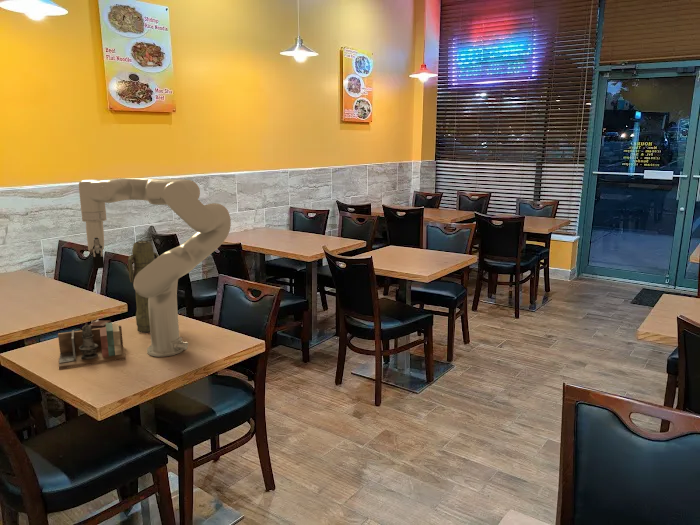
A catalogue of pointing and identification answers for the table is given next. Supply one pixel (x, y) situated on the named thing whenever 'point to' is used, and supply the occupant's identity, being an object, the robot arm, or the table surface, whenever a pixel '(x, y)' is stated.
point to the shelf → (104, 337)
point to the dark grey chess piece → (88, 344)
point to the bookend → (69, 353)
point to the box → (99, 324)
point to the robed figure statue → (140, 259)
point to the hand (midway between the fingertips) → (98, 265)
